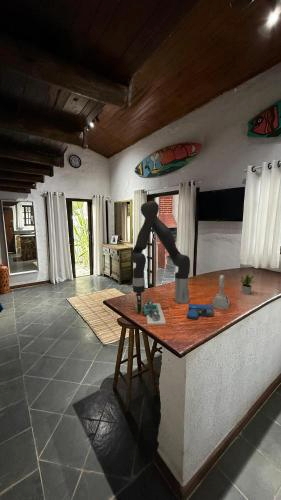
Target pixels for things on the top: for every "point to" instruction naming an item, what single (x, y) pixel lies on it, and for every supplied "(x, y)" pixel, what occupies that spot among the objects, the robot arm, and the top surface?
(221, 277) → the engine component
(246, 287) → the house plant
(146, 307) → the cradle
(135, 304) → the yellow cube
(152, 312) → the shaft
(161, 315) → the base plate
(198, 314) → the stun gun
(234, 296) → the top surface
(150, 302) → the shaft
